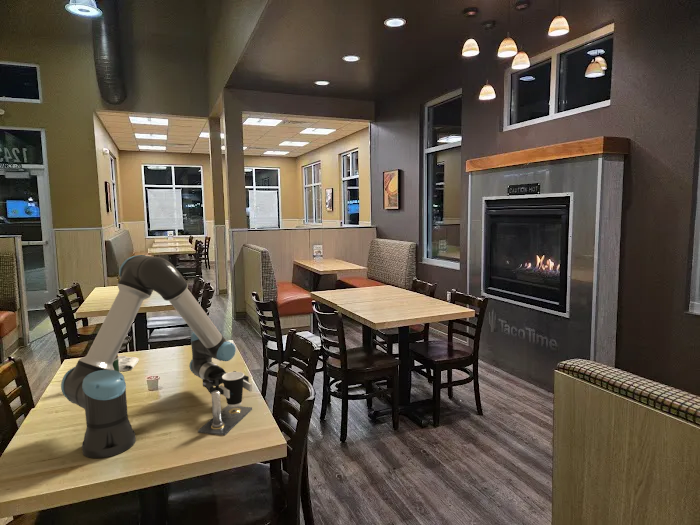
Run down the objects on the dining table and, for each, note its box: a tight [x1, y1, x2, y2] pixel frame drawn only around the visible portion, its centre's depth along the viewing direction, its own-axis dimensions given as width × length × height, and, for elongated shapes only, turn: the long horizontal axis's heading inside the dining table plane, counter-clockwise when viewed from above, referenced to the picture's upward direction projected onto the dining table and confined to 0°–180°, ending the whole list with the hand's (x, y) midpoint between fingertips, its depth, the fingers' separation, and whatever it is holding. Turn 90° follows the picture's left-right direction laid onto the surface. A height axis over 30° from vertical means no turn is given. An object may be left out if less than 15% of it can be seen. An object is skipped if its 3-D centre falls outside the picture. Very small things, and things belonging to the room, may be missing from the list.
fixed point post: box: [210, 391, 223, 428], centre depth 156 cm, size 4×4×12 cm
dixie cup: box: [222, 371, 245, 407], centre depth 168 cm, size 8×8×11 cm
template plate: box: [197, 404, 253, 436], centre depth 163 cm, size 20×10×1 cm, turn 166°
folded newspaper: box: [118, 355, 140, 373], centre depth 220 cm, size 3×18×15 cm
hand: (239, 391), depth 164 cm, fingers closed on dixie cup, 8 cm apart
